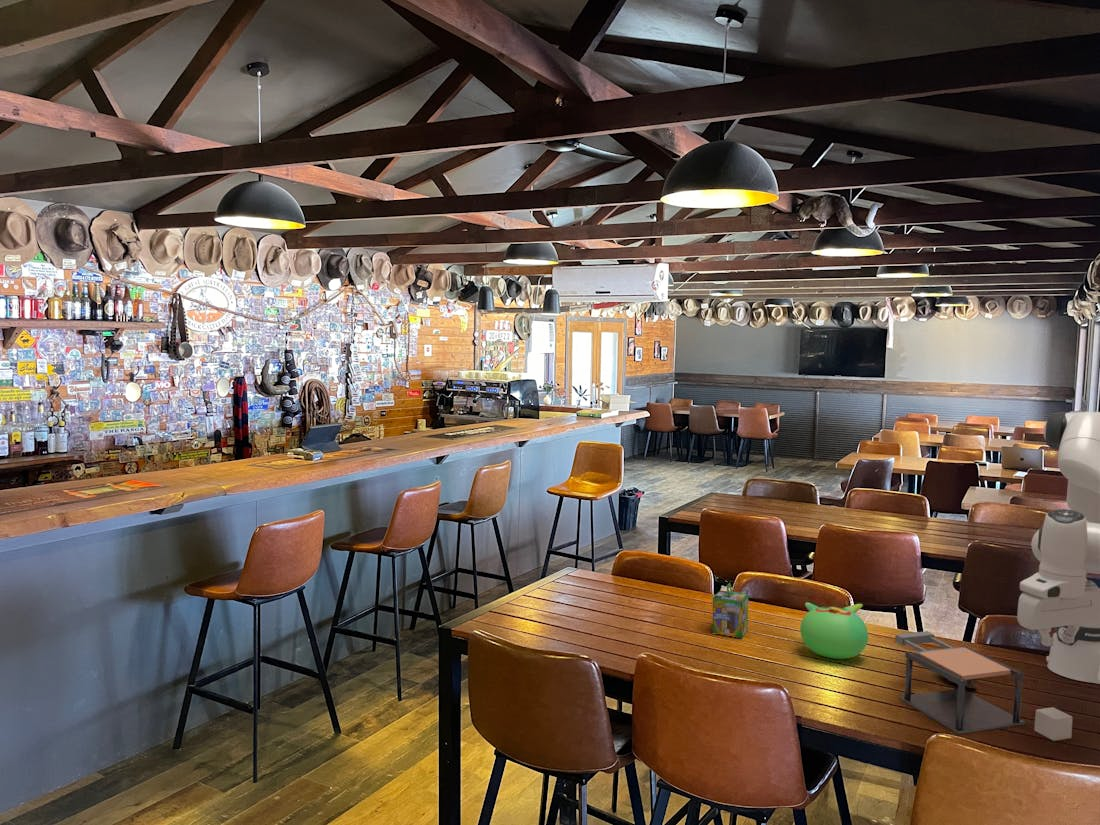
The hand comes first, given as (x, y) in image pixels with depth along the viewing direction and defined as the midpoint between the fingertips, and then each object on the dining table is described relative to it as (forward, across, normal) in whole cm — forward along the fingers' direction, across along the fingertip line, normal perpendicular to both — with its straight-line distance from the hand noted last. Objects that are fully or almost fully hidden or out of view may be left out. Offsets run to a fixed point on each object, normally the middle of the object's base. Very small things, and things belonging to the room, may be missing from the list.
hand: (1057, 643), depth 179 cm
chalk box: (+21, +38, -77) cm, 88 cm away
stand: (+21, +12, -15) cm, 28 cm away
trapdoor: (+10, +11, -20) cm, 25 cm away
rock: (+22, -2, -29) cm, 36 cm away
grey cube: (+21, 0, 0) cm, 21 cm away
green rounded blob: (+21, +20, -53) cm, 60 cm away
